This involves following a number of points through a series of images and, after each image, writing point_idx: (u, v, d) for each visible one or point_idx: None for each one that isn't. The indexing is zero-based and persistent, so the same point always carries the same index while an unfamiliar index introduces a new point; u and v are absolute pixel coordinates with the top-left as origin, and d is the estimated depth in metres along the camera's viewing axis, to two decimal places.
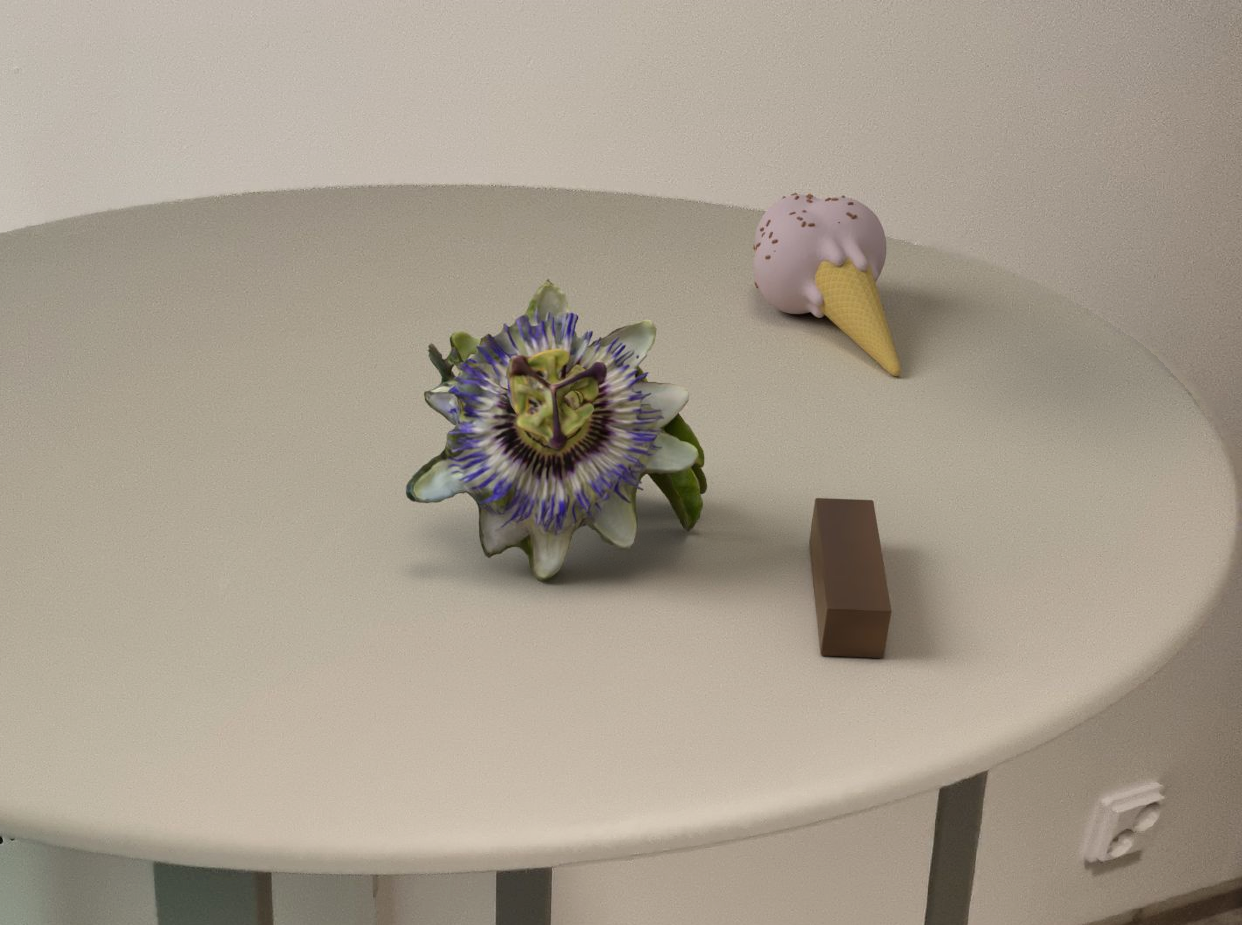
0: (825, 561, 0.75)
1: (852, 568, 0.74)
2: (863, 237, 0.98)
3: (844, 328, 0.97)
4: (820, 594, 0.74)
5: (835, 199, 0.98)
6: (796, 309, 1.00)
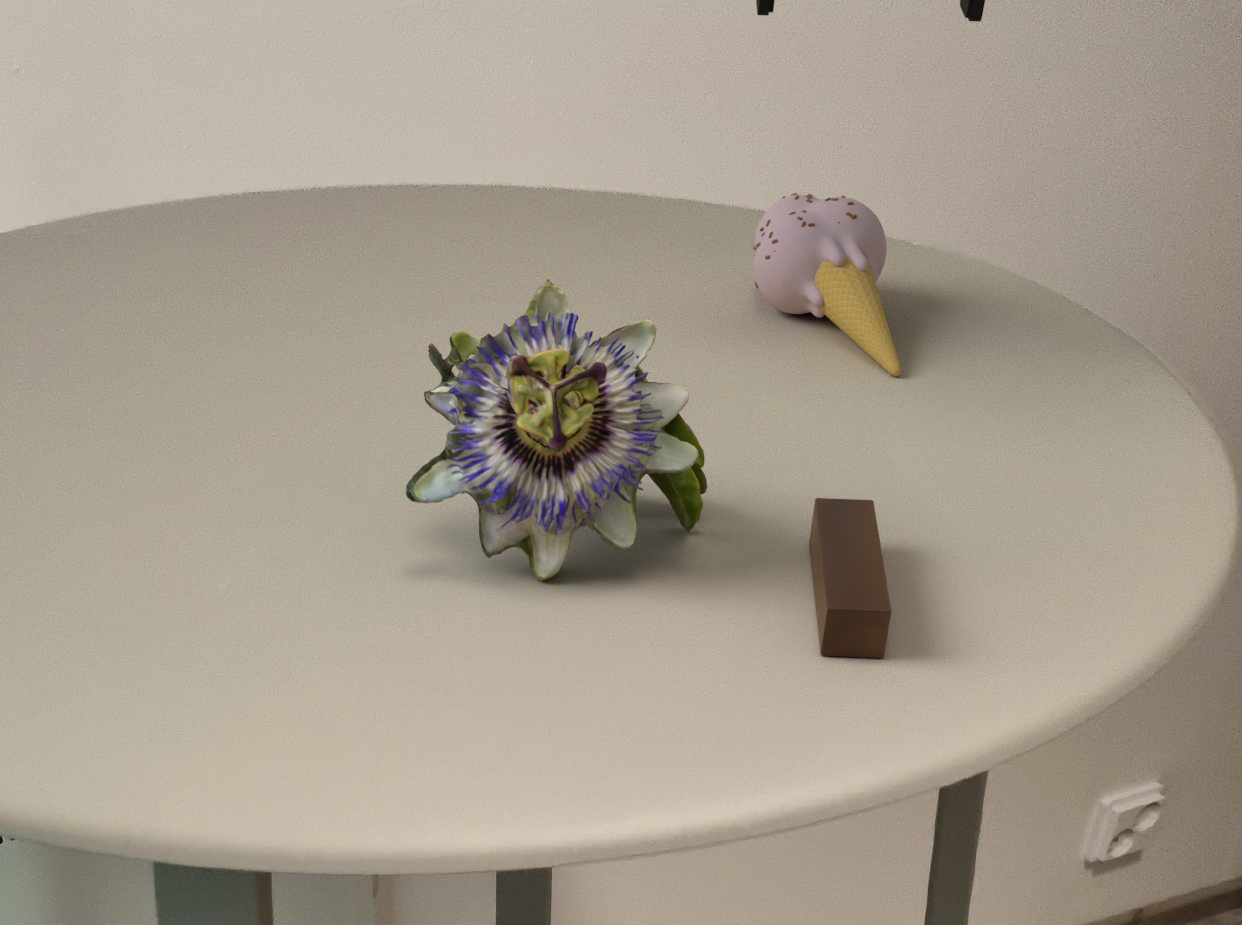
0: (825, 561, 0.75)
1: (852, 568, 0.74)
2: (863, 237, 0.98)
3: (844, 328, 0.97)
4: (820, 594, 0.74)
5: (835, 199, 0.98)
6: (796, 309, 1.00)
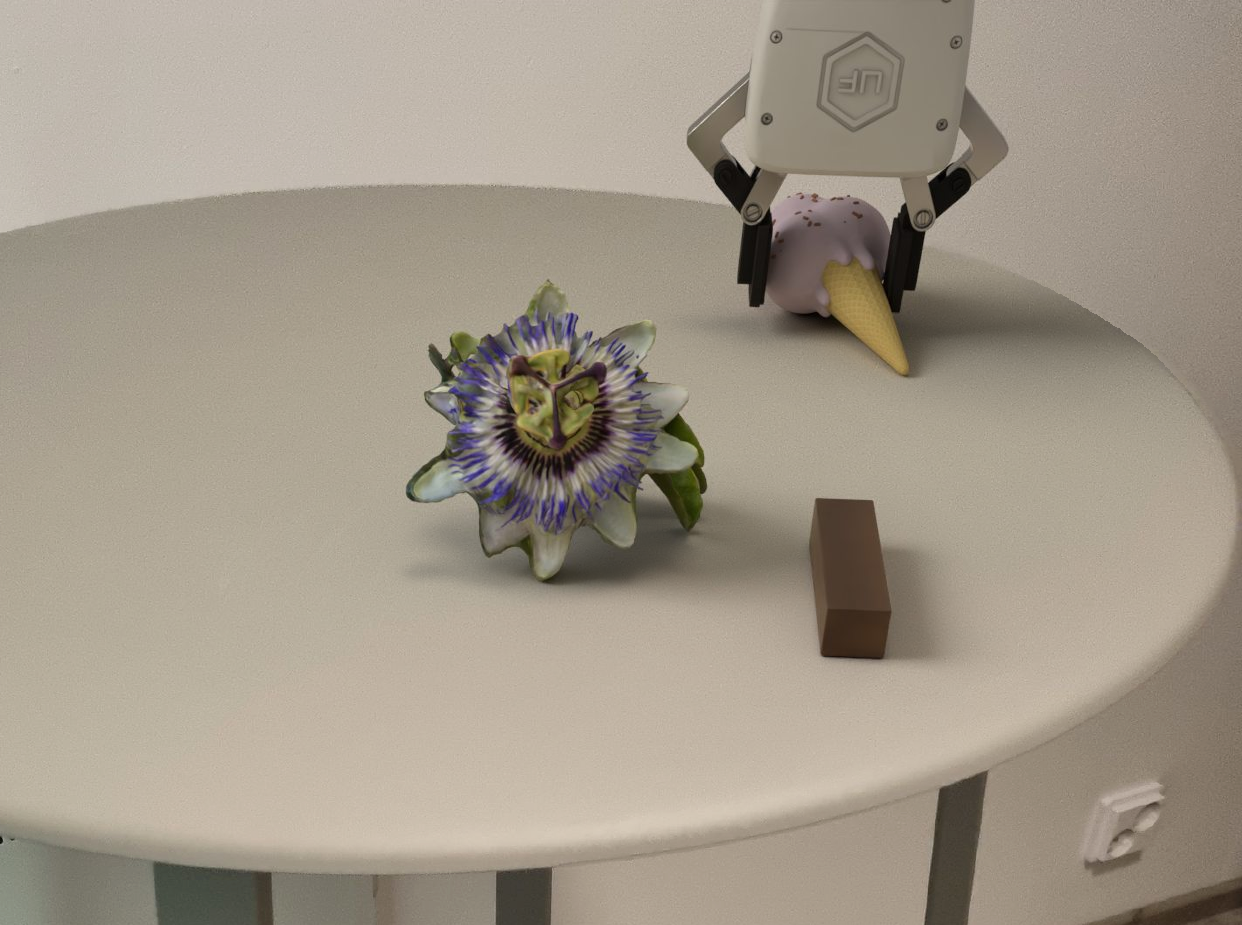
0: (825, 561, 0.75)
1: (852, 568, 0.74)
2: (869, 236, 0.98)
3: (851, 327, 0.97)
4: (820, 594, 0.74)
5: (840, 198, 0.98)
6: (802, 309, 1.00)
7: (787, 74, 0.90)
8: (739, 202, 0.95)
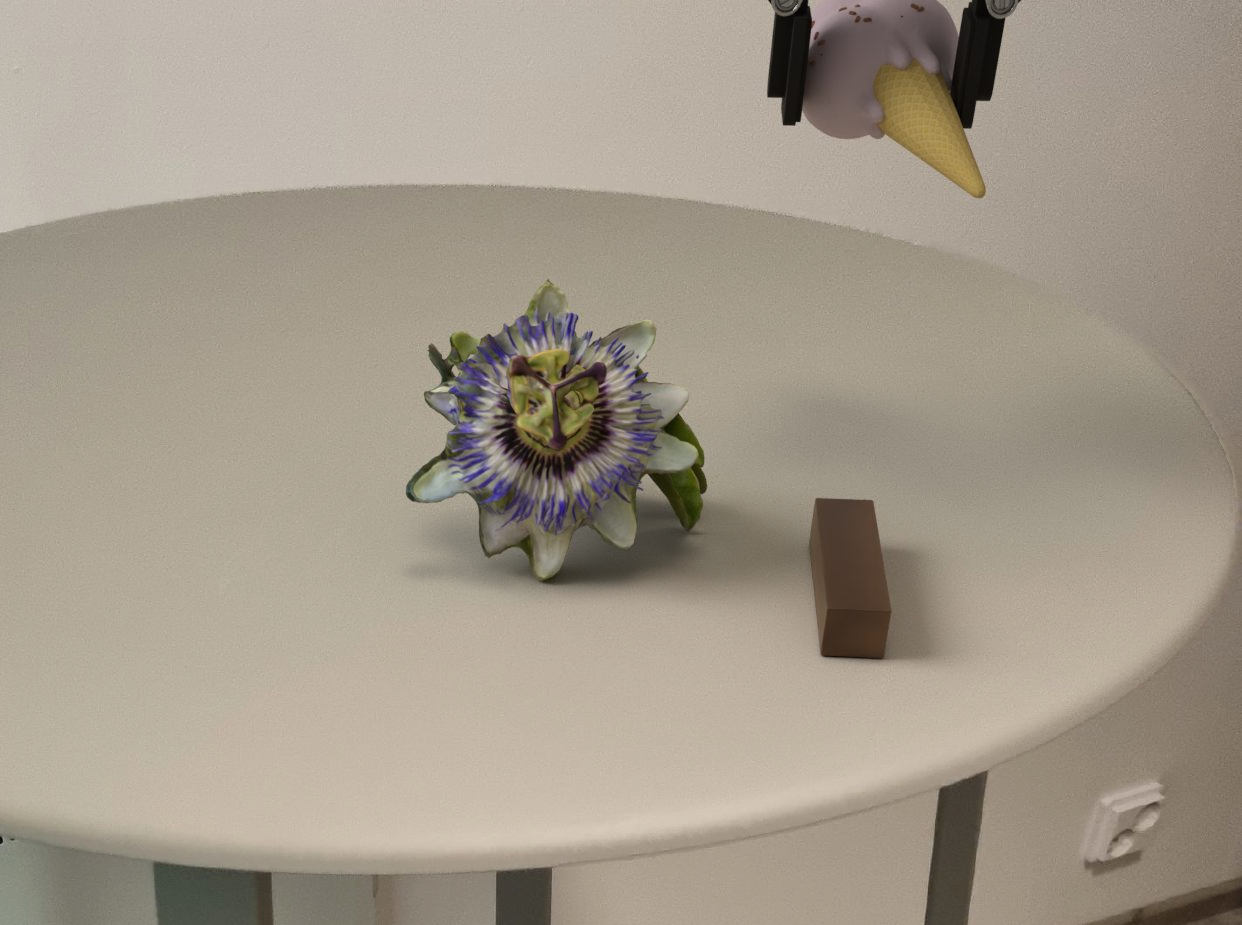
0: (825, 561, 0.75)
1: (852, 568, 0.74)
2: (932, 34, 0.78)
3: (911, 146, 0.77)
4: (820, 594, 0.74)
5: None
6: (849, 131, 0.80)
7: None
8: None
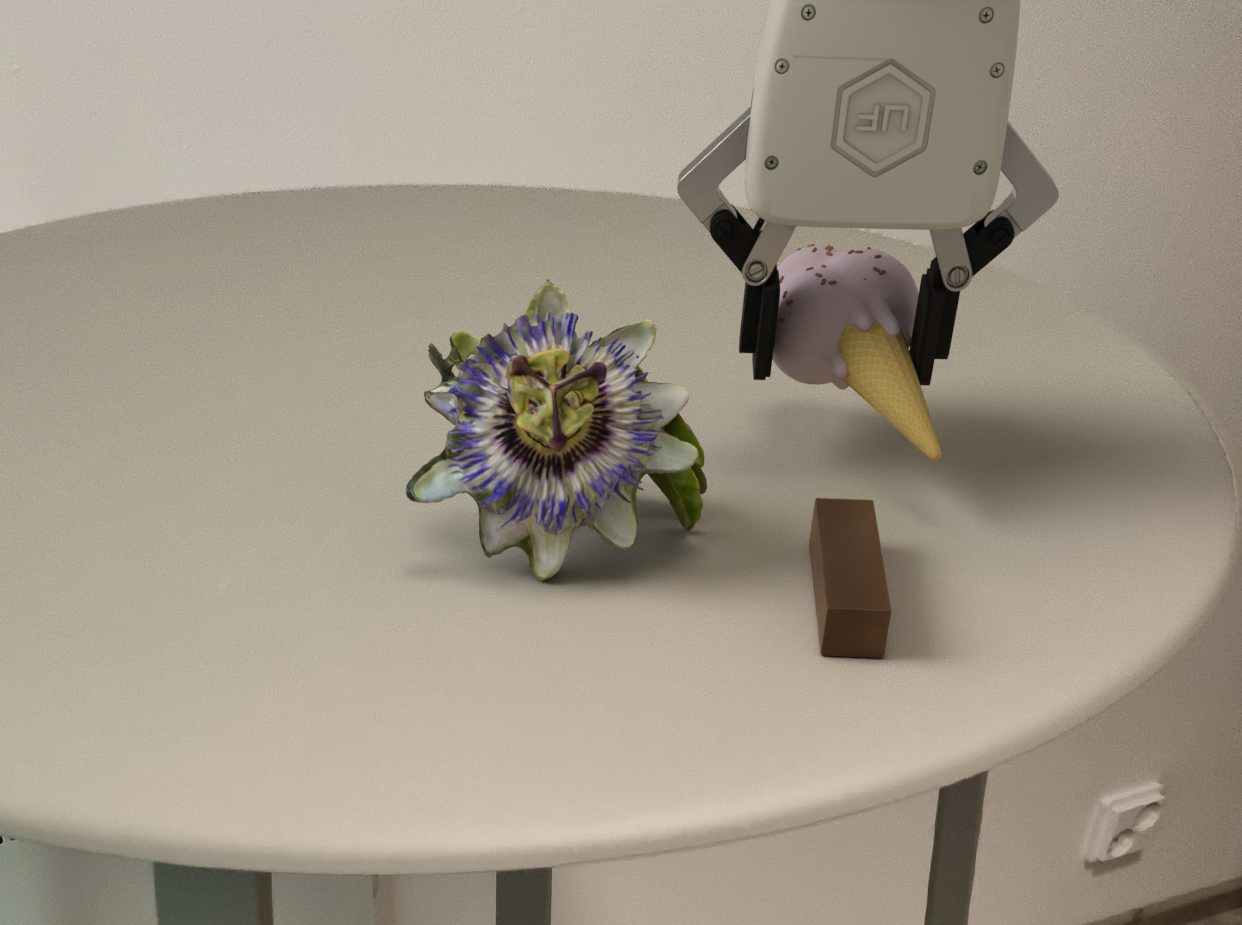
0: (825, 561, 0.75)
1: (852, 568, 0.74)
2: (893, 295, 0.83)
3: (873, 403, 0.82)
4: (820, 594, 0.74)
5: (860, 251, 0.84)
6: (815, 380, 0.85)
7: (795, 110, 0.75)
8: (740, 259, 0.81)
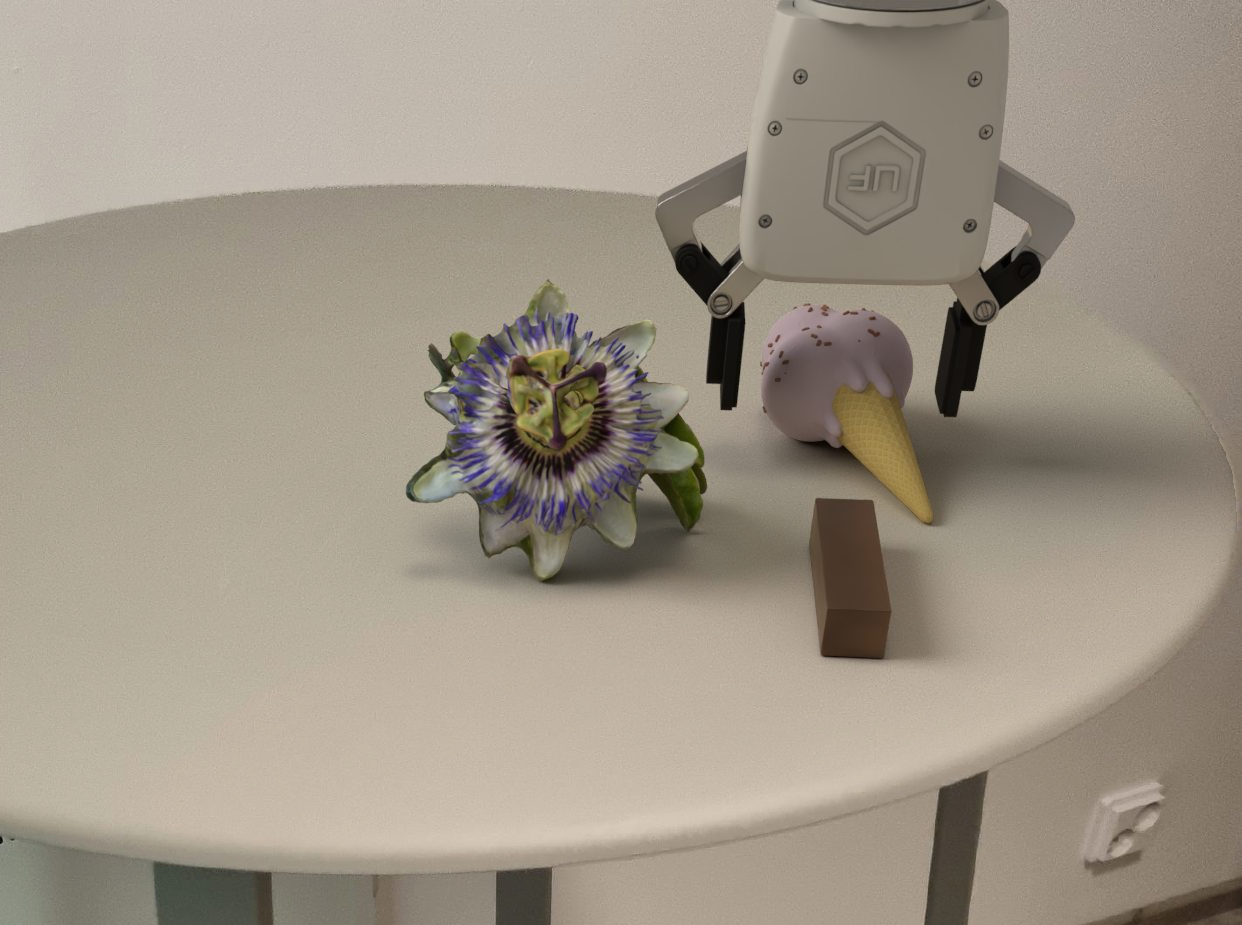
0: (825, 561, 0.75)
1: (852, 568, 0.74)
2: (887, 357, 0.85)
3: (866, 463, 0.84)
4: (820, 594, 0.74)
5: (854, 313, 0.86)
6: (810, 437, 0.87)
7: (788, 171, 0.77)
8: (705, 292, 0.82)
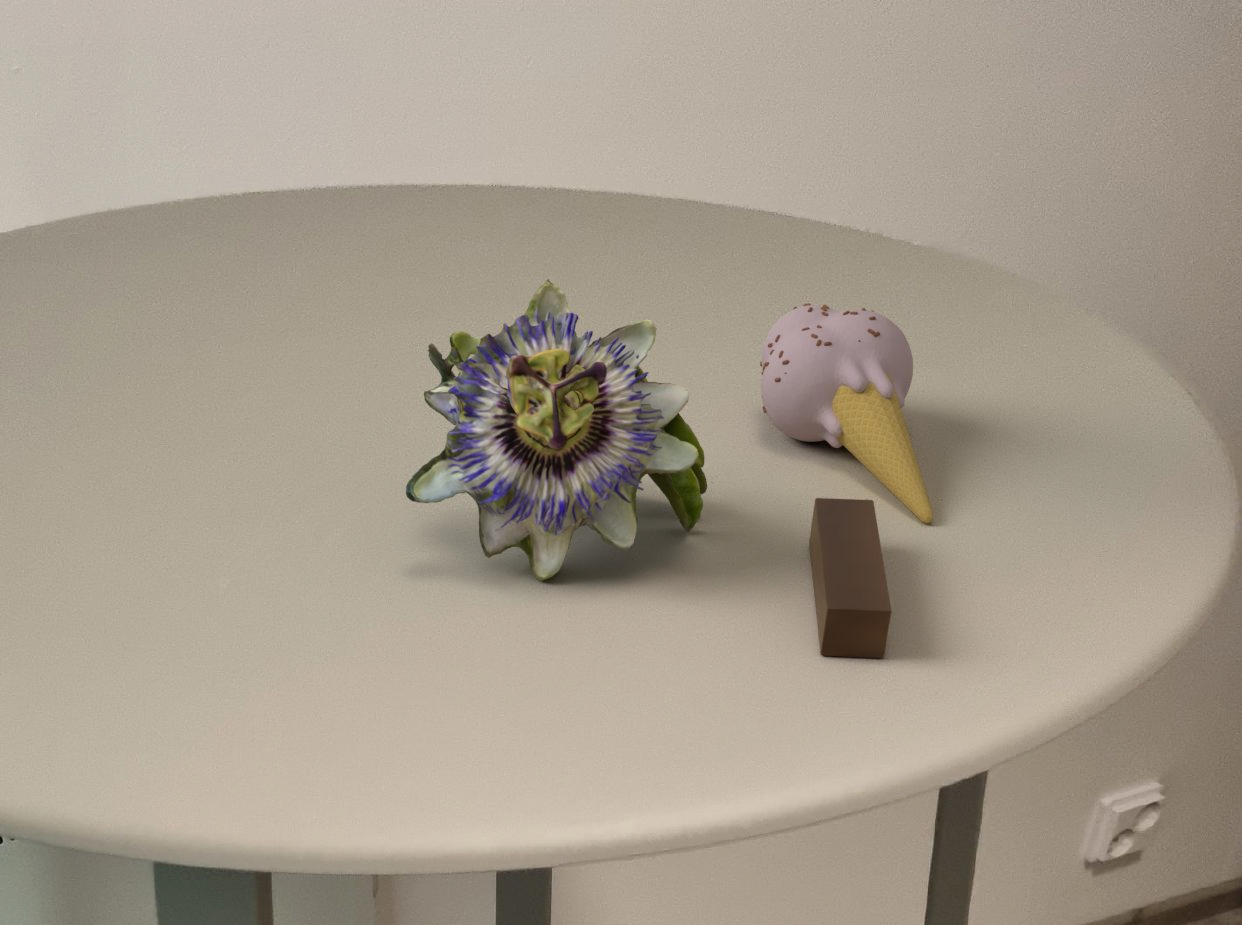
0: (825, 561, 0.75)
1: (852, 568, 0.74)
2: (887, 357, 0.85)
3: (866, 463, 0.84)
4: (820, 594, 0.74)
5: (854, 313, 0.86)
6: (810, 437, 0.87)
7: None
8: None
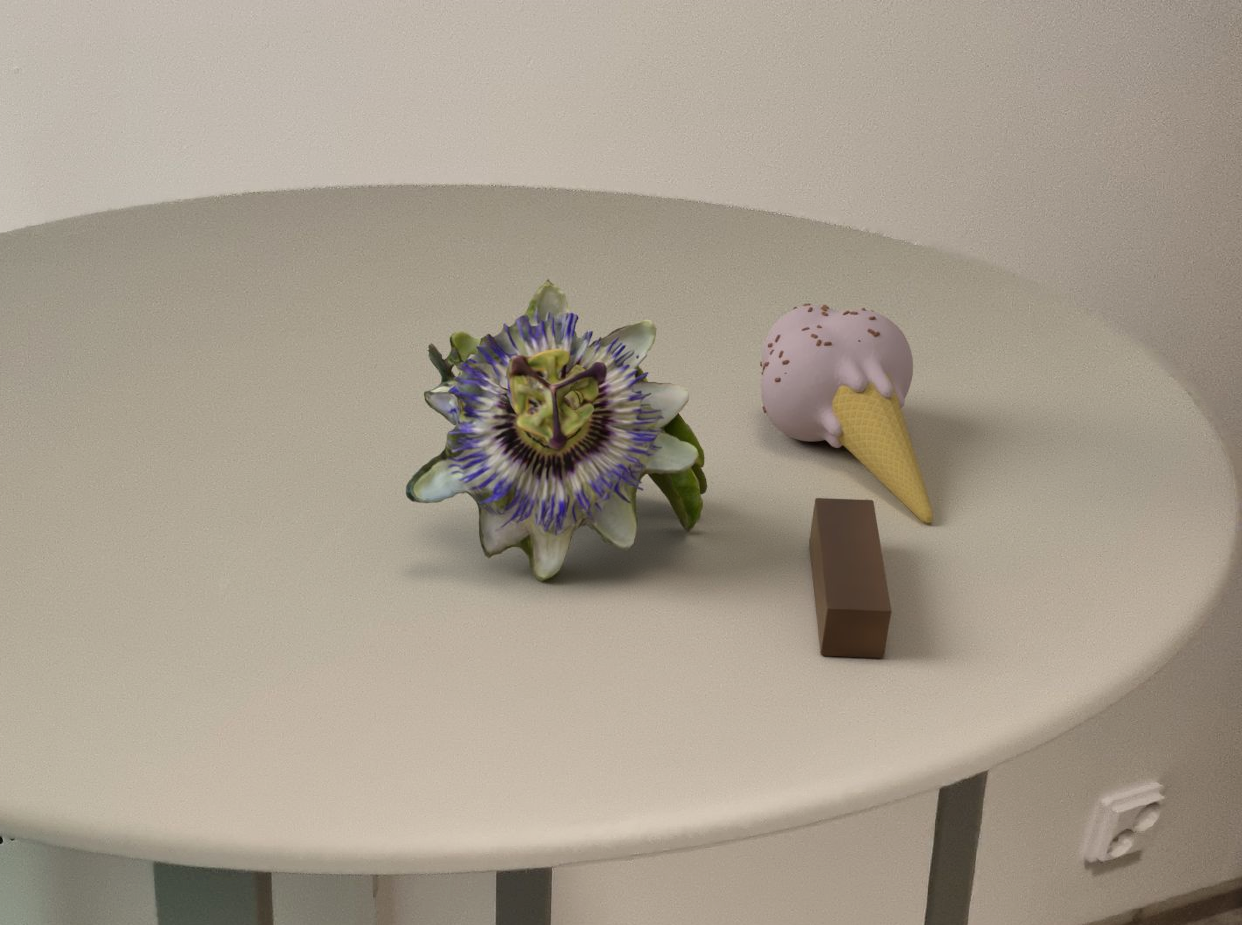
0: (825, 561, 0.75)
1: (852, 568, 0.74)
2: (887, 357, 0.85)
3: (866, 463, 0.84)
4: (820, 594, 0.74)
5: (854, 313, 0.86)
6: (810, 437, 0.87)
7: None
8: None
